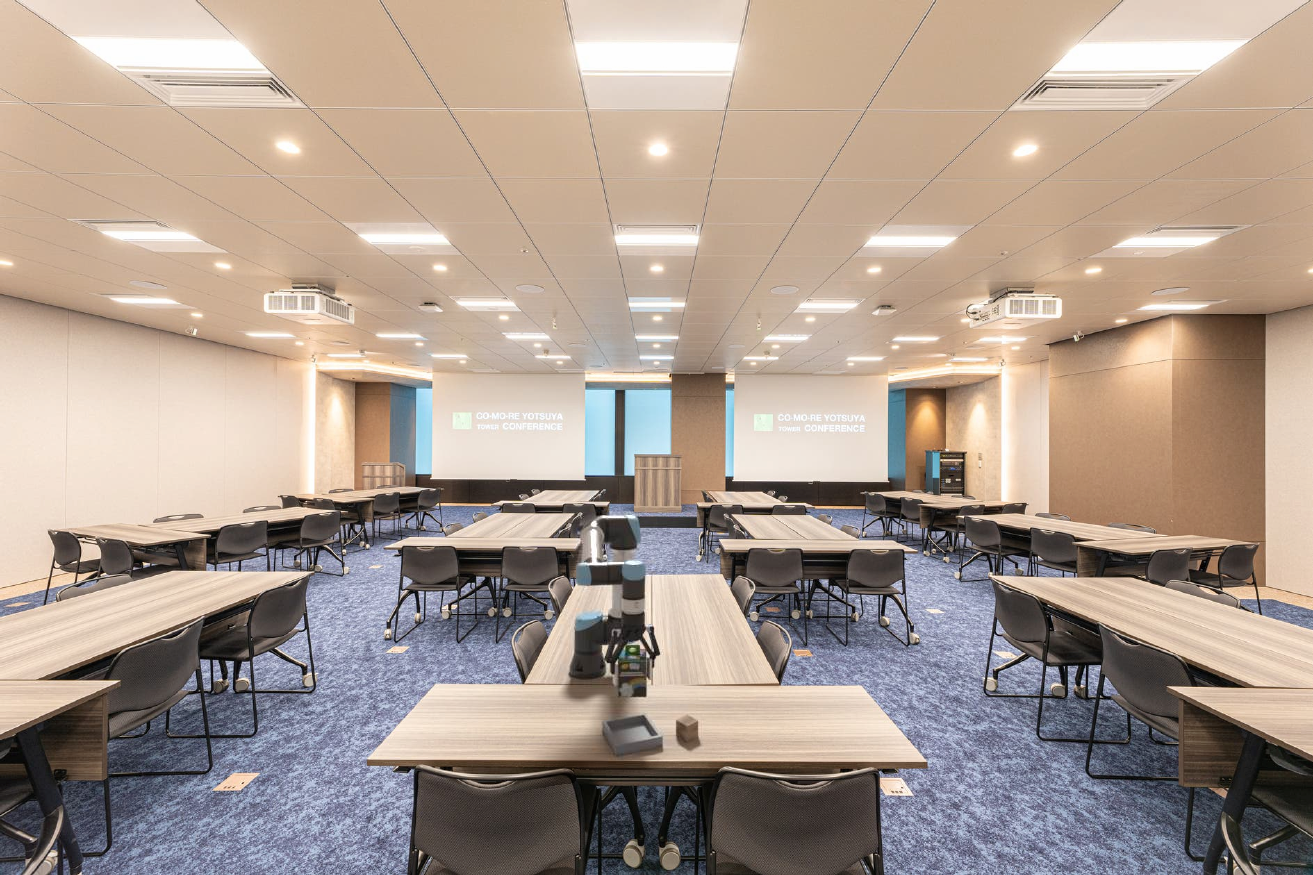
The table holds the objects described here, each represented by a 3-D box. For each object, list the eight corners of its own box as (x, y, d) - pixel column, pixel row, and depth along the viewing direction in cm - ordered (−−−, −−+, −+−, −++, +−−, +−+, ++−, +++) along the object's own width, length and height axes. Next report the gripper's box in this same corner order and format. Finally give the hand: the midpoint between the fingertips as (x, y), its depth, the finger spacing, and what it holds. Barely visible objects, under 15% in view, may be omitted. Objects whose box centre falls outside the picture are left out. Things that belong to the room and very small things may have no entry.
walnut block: (675, 735, 158) (676, 719, 158) (686, 730, 161) (687, 714, 161) (687, 742, 154) (687, 726, 154) (698, 736, 157) (698, 720, 157)
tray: (602, 730, 160) (602, 720, 160) (645, 721, 165) (645, 712, 166) (615, 756, 146) (616, 746, 146) (662, 746, 152) (662, 736, 152)
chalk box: (646, 684, 161) (647, 638, 162) (647, 697, 152) (647, 648, 153) (618, 684, 161) (618, 638, 161) (617, 697, 152) (617, 648, 152)
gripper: (601, 618, 150) (600, 692, 149) (671, 610, 158) (670, 680, 157) (594, 611, 157) (593, 681, 156) (662, 604, 165) (661, 671, 164)
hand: (632, 681), depth 156 cm, fingers closed on chalk box, 11 cm apart
